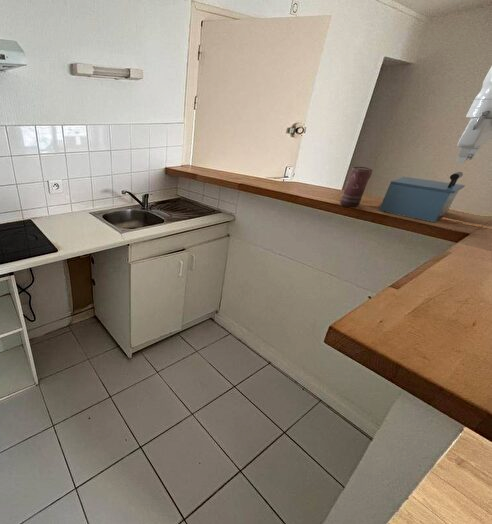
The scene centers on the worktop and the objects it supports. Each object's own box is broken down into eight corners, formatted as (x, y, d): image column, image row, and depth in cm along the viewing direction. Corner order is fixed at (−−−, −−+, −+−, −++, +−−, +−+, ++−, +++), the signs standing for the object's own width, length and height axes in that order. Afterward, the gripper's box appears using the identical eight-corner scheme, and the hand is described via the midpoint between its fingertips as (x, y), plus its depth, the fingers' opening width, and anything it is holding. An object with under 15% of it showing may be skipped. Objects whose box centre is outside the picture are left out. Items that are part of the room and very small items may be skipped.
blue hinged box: (445, 215, 99) (460, 187, 94) (434, 222, 92) (450, 193, 88) (391, 204, 110) (402, 178, 105) (378, 210, 104) (389, 183, 99)
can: (359, 208, 106) (374, 170, 99) (339, 205, 109) (352, 168, 102) (358, 204, 110) (372, 167, 103) (339, 201, 113) (352, 165, 106)
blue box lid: (463, 187, 93) (472, 171, 91) (453, 193, 87) (462, 176, 85) (402, 178, 105) (409, 164, 103) (389, 183, 99) (396, 168, 96)
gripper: (500, 111, 74) (469, 166, 80) (512, 110, 84) (484, 159, 90) (466, 111, 78) (440, 163, 85) (482, 110, 88) (458, 157, 95)
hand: (463, 161), depth 88 cm, fingers open, 8 cm apart
